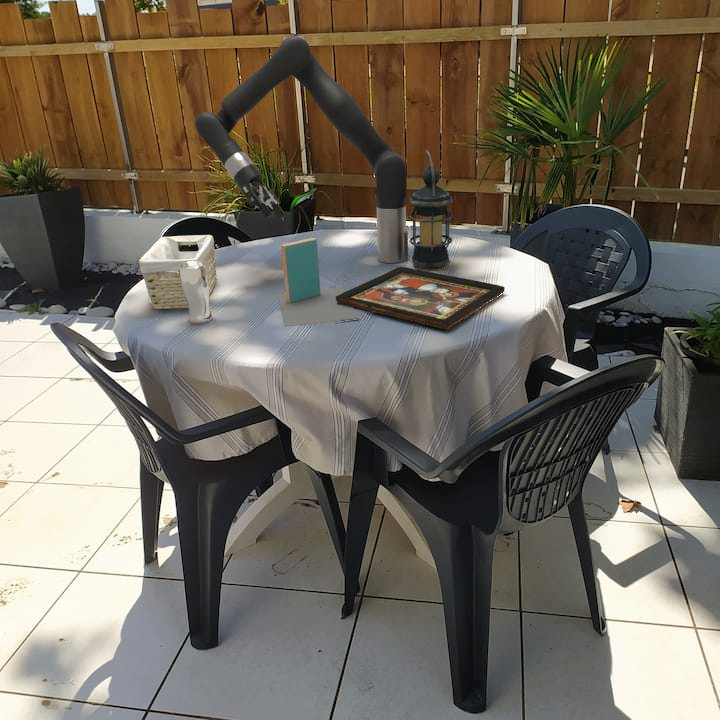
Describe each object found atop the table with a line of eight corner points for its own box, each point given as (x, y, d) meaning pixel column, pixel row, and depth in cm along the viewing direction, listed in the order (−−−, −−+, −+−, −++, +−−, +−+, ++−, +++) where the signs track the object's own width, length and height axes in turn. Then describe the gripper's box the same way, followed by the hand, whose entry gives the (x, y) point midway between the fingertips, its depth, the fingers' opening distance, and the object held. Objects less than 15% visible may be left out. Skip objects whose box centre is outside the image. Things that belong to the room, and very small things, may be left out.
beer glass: (217, 314, 175) (209, 260, 168) (209, 324, 169) (201, 268, 162) (192, 314, 176) (183, 260, 169) (183, 324, 170) (174, 269, 163)
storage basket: (204, 310, 178) (196, 258, 172) (145, 312, 179) (135, 260, 172) (221, 281, 200) (214, 233, 193) (168, 283, 200) (160, 235, 194)
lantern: (454, 272, 198) (457, 152, 183) (410, 273, 199) (409, 154, 183) (449, 257, 211) (451, 144, 196) (408, 259, 212) (407, 146, 196)
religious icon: (509, 288, 183) (510, 279, 182) (460, 335, 156) (461, 324, 155) (389, 271, 201) (389, 262, 200) (327, 310, 174) (326, 300, 173)
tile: (286, 301, 180) (281, 244, 173) (317, 293, 185) (313, 237, 178) (290, 303, 178) (284, 246, 171) (321, 295, 183) (317, 239, 176)
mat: (343, 289, 189) (343, 287, 188) (358, 320, 167) (358, 318, 167) (277, 296, 186) (277, 294, 185) (284, 328, 164) (284, 326, 164)
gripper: (239, 160, 180) (273, 207, 179) (264, 165, 194) (296, 209, 193) (221, 178, 183) (255, 224, 182) (247, 182, 196) (278, 225, 195)
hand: (276, 216), depth 187 cm, fingers open, 8 cm apart
